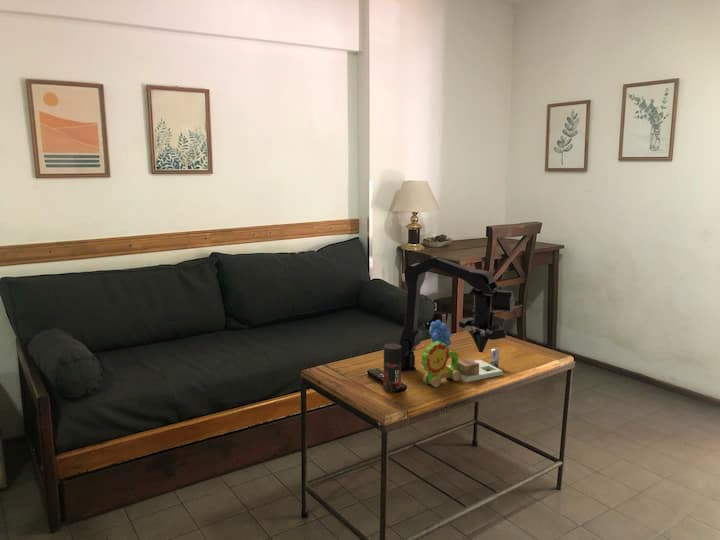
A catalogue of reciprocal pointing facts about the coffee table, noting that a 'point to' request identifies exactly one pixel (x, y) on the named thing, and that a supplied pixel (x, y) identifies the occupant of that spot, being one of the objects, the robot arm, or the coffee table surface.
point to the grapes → (440, 333)
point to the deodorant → (392, 367)
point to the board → (482, 372)
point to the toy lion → (439, 364)
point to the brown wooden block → (468, 367)
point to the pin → (495, 357)
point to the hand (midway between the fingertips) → (481, 352)
